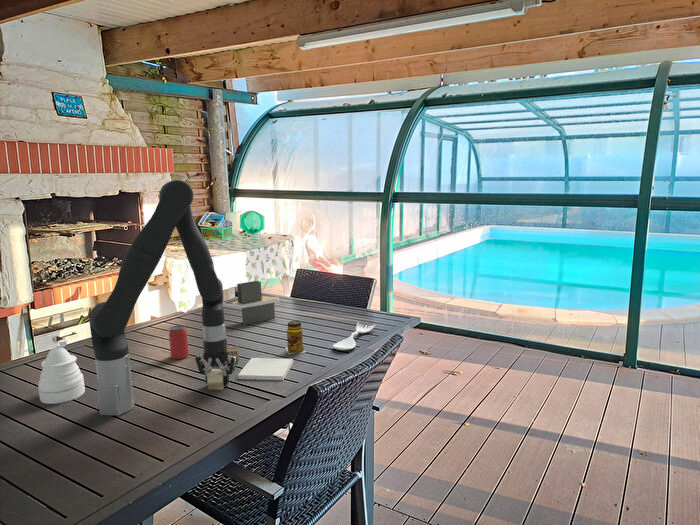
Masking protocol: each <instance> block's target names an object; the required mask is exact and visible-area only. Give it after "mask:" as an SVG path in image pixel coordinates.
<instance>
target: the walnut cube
mask: <svg viewBox="0 0 700 525" xmlns="http://www.w3.org/2000/svg"><path fill="white" fill-rule="evenodd" d="M227 352H228V354H229V355H231V356H234V355H236V356H237V359H236V364H238V363H239V358H240V356H239V346H238V345H235V346H227ZM226 363H227V365H228V364H229V365H230V362H229V359H227V360H226Z"/></svg>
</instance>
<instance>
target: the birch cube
mask: <svg viewBox="0 0 700 525" xmlns="http://www.w3.org/2000/svg"><path fill="white" fill-rule="evenodd" d="M223 376H224V375H223V373H222V371H221V370H220V368H219V369H218V368H212V369H211V371H210V372H209V373H208V374H207V384H206V385H207V390H221V391H222V390H223V389H224V388H225V387H226V386H224V382H223Z"/></svg>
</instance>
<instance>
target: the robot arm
mask: <svg viewBox="0 0 700 525" xmlns="http://www.w3.org/2000/svg"><path fill="white" fill-rule="evenodd" d="M193 200H194V191H193V188H192V186H191V185H190V184H189V183H188V182H187V181H184V180H181V179H175V180H174V179H173V180H171V181H167V182H166V183H165V184H164V185H163V184H162V187H161V188H160V190H159V201H158V203H157V206H156V207H155V210H154V212H153V213H152V215H151V217H150V219H149V220H148V221H147V223H145V225H144V226H143V228H141V230H140V231H139V232H138V233H137V235H136V237H135V238H134V240H133V241H132V242H131V245H130V246H129V247H128V250H127V251H126V253H125V255H124V258H123V260H122V262H121V266H120V268H119V273H118V276H117V280H116V283H115V286H114V288H113V290H112V291H111V294H110V295H109V297H108V298H107V300H106V301H102V302H99V303H97V304H95V306H93V307H92V309H91V310H90V313H89V318H88V321H89V329H90V336H91V344H92V348H93V352H94V353H93V354H94V359H95V360H94V361H95V369H96V377H97V384H96V392H97V393H96V394H97V401H98V408H99V409H98V410H99V415H100V416H116V417H118V416H120V415H122V414H125V413H128V412H129V411H131V410H132V409H134V407H135V398H134V391H133V382H132V381H133V380H132V372H131V370H132V369H131V360H130V352H129V344H128V341H127V338H126V333H125V332H126V331H125V329H126V327H127V325H128V323H129V320H130V318H131V316H132V313H133V310H134V309H135V306H136V303H137V301H138V299H139V298H140V295H141V294H142V292H143V290H144V289H145V287H146V285H147V283H148V282H149V280H150V279H151V277H152V275H153V273H154V271H155V270H156V268H157V266H158V265H159V263H160V262H161V261H160V260H161V258H162V257H163V255H164V253H165V250H166V249H167V247H168V244H169V242H170V240H171V238H172V235H173V233H174V231H175V229H176V231H177V234H178V236H179V238H180V241H181V243H182V247H183V250H184V253H185V255H186V258H187V261H188V264H189V265H190V268H191V270H192V273H193V276H194V279H195V283H196V287H197V289H198V293H199V294H200V297H201V302H202V310H201V320H202V322H201V323H202V331H201V334H202V343H203V346H202V347H203V354H198V355H196V356H195V362H196V366H197V368H198V372H199V374H203V375H205V383H206V385H208V384H207V374H208V373H209V372H210V371H211V370H212V369H213V368H214V367H216V368H219V369H220V370H221V371H222V373H223V375H224V376H223V382H224V386H225V387H227V386H228V384H229V383H230V375H232V374H233V373H234V372H235V370H236V369H235V368H236V364H237V363H236V359H237V356H236V355H234V356H231V355H229V354H228V352H227V347H228V344H227V343H228V342H227V329H226V325H225V324H226V323H225V313H224V305H223V303H224V300H223V299H224V292H223V291H224V289H223V288H224V287H223V282H222V281H221V279H220V278H218V276H217V273H216V271H215V266H214V261H213V257H212V256H211V253H210V250H209V247H208V244H207V242H206V240H205V238H204V237H203V235H202V233H201V231H200V229H199V228H198V225H197V223H196V220H195V218H194V215H193V212H192V207H191V205H192V203H193ZM227 359H229V362H230V364H229V367H228V364H227V363H226V360H227ZM204 360H205V362H206V366H205V363H204Z"/></svg>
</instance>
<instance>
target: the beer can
mask: <svg viewBox="0 0 700 525" xmlns="http://www.w3.org/2000/svg"><path fill="white" fill-rule="evenodd" d="M168 336H169V338H168V339H169V347H170V357H171V358H172V359H174V360H182V359H186V358H188V356H189V352H190V351H189V341H188V331H187V328H186V326H185V325H174V326H171V327H170V328H169V332H168Z"/></svg>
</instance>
